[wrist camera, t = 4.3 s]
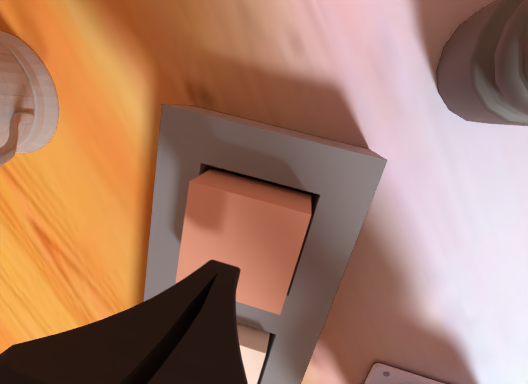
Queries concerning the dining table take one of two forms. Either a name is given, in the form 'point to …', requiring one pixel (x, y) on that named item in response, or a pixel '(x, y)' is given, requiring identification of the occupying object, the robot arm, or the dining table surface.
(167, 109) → the key panel
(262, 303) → the terracotta key
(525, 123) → the candle holder
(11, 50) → the glass holder
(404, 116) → the dining table surface
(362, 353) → the dining table surface
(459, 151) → the dining table surface
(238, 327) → the cream key
